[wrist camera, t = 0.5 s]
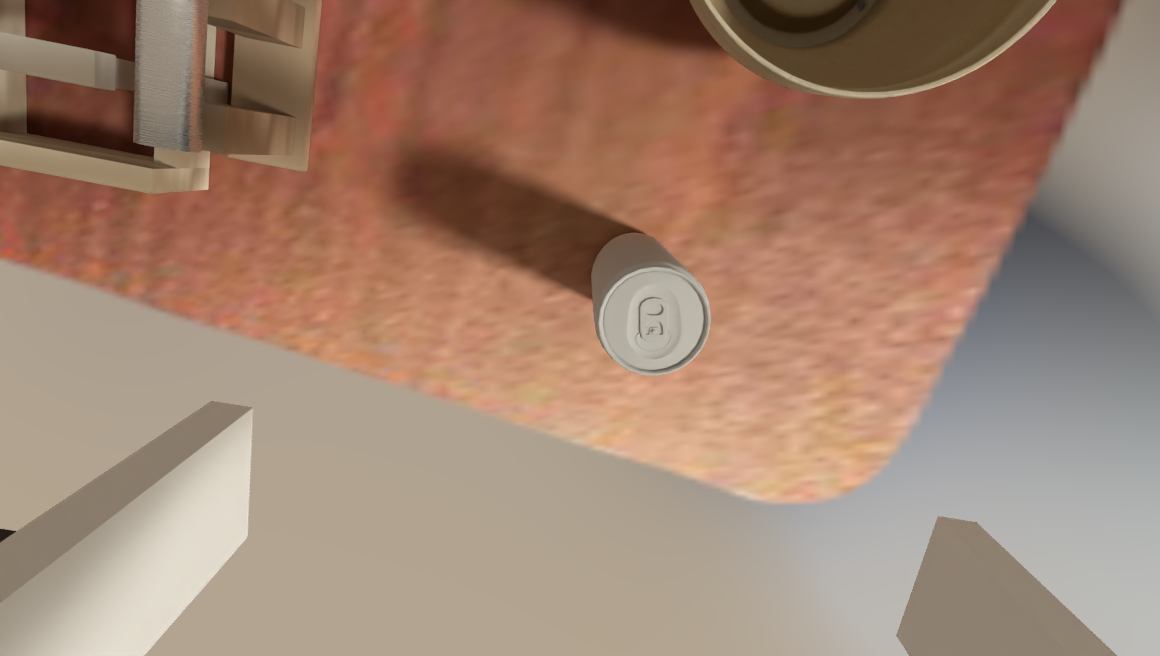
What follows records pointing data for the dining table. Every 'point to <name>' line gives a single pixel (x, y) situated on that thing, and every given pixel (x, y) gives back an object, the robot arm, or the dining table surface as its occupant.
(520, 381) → the dining table surface
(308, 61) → the cream cubby shelf
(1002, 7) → the planter bowl
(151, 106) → the hammer
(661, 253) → the beverage can
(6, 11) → the beige open frame
